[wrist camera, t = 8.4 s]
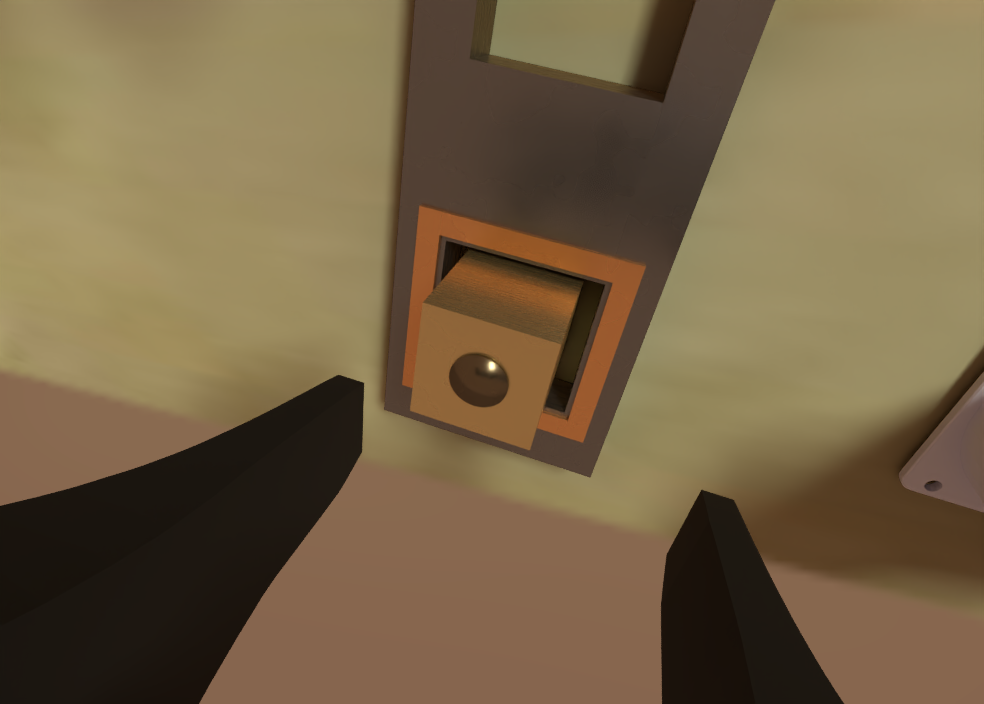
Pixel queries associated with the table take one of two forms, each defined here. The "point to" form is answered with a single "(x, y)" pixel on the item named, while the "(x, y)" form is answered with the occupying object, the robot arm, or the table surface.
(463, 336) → the tan square knob peg
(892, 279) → the table surface
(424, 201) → the grey slotted board
